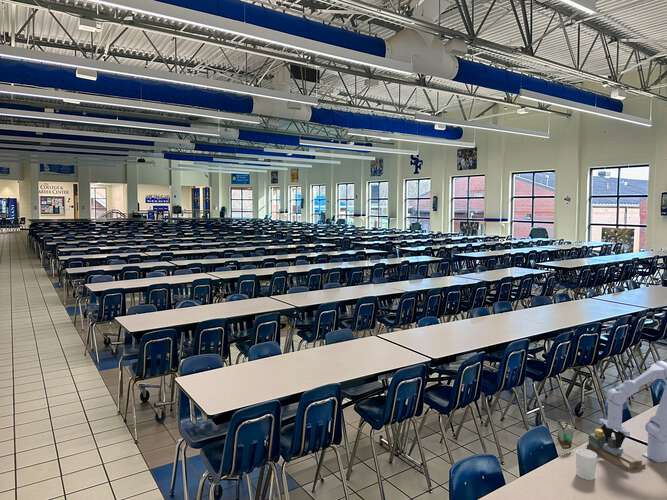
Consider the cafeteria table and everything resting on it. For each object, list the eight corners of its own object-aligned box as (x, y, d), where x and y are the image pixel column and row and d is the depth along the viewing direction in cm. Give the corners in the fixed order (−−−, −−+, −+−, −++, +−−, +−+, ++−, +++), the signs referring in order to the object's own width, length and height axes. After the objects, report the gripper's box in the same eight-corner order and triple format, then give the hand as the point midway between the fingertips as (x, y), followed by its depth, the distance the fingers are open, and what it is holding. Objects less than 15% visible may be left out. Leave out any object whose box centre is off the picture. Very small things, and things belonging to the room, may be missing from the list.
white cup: (578, 469, 207) (579, 446, 207) (598, 476, 202) (599, 453, 201) (572, 475, 202) (573, 452, 201) (592, 483, 196) (593, 459, 196)
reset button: (599, 438, 229) (599, 428, 228) (606, 441, 225) (606, 431, 224) (592, 439, 227) (593, 429, 227) (599, 442, 224) (600, 432, 223)
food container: (577, 451, 223) (578, 430, 223) (563, 450, 224) (564, 429, 224) (569, 439, 235) (570, 420, 235) (556, 438, 236) (557, 418, 236)
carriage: (611, 448, 223) (612, 434, 222) (622, 454, 217) (623, 440, 217) (603, 449, 221) (603, 435, 221) (614, 456, 215) (615, 441, 215)
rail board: (603, 444, 230) (603, 431, 230) (645, 467, 209) (645, 453, 209) (586, 447, 227) (587, 434, 227) (627, 470, 206) (628, 456, 206)
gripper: (594, 410, 224) (593, 438, 225) (621, 423, 210) (620, 453, 211) (606, 409, 226) (605, 437, 227) (634, 421, 212) (632, 451, 213)
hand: (613, 444), depth 219 cm, fingers open, 5 cm apart
